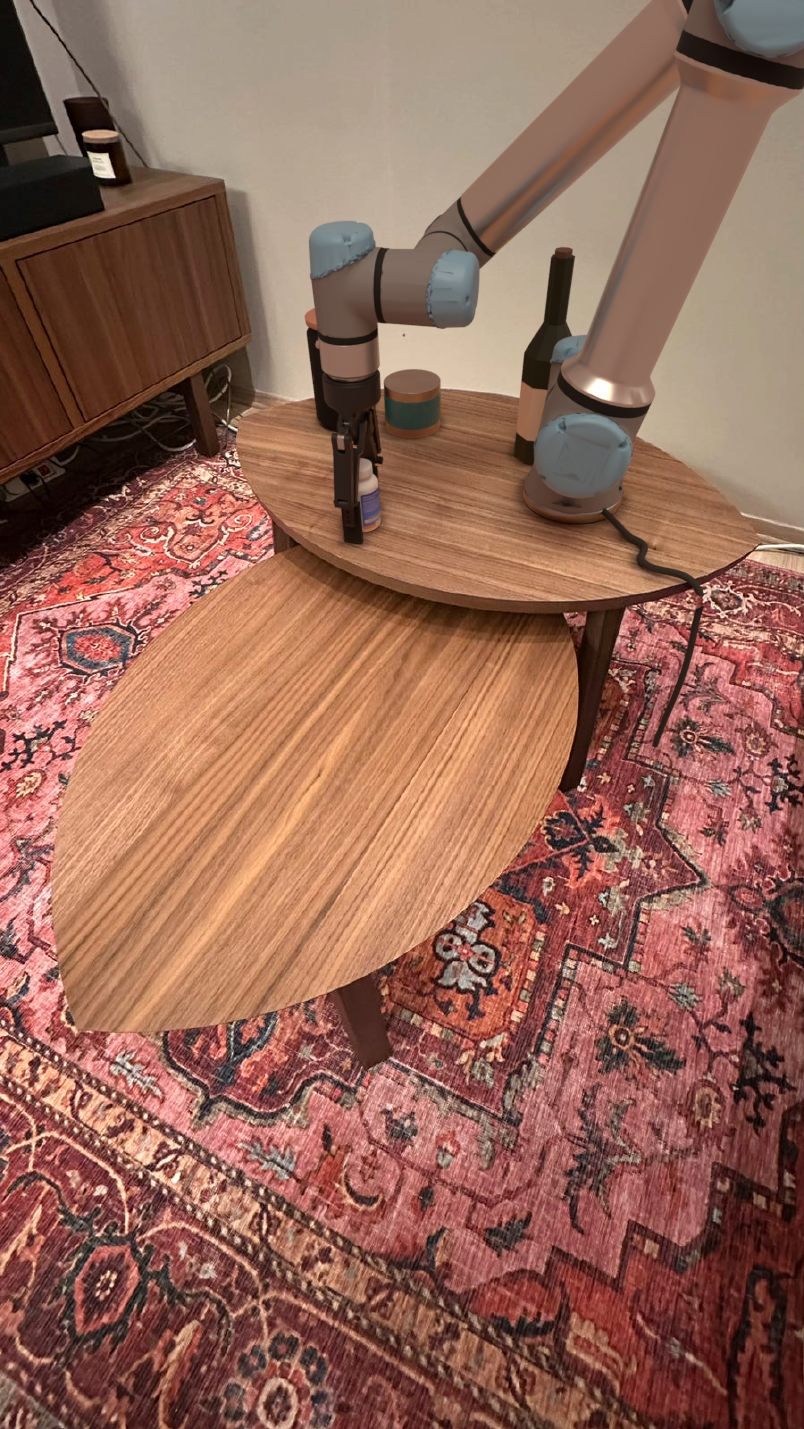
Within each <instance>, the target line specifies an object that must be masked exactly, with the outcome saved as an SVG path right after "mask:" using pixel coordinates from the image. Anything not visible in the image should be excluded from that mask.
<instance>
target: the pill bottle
mask: <svg viewBox="0 0 804 1429" xmlns="http://www.w3.org/2000/svg"><path fill="white" fill-rule="evenodd" d="M378 479H379V478H378ZM378 479H377V477H376V476H375V475H374V474H373V470H372V463H371V462H370V461H369V460H367V459H364V458H360V466H359V484H358V501H360V507H361V519H362V532H363V533H369V532H373V531H375V530H376V529H377V528H379V527H380V525H381V522H382V515H381V501H380V500H381V499H380V500H379V497H380V485H379V486H378Z"/></svg>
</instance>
